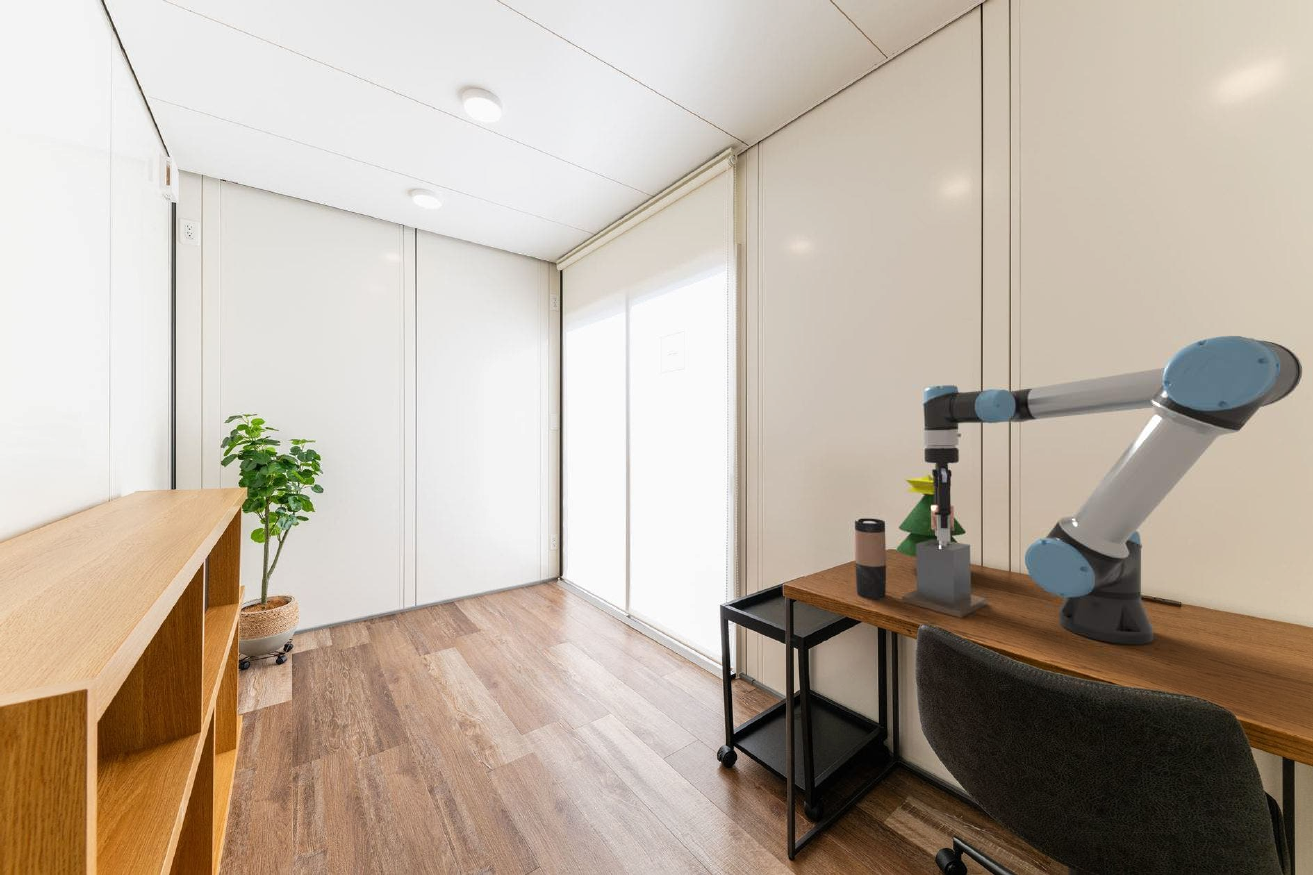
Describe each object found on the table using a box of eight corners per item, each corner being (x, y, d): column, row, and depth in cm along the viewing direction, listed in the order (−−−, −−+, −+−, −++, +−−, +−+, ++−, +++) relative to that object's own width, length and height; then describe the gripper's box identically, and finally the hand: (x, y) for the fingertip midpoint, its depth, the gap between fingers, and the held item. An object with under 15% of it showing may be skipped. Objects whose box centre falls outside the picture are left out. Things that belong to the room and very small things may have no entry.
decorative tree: (942, 585, 139) (940, 479, 139) (883, 568, 156) (881, 474, 156) (982, 574, 148) (980, 474, 147) (922, 559, 165) (921, 470, 165)
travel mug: (891, 599, 129) (890, 523, 129) (862, 599, 130) (861, 523, 129) (879, 589, 137) (877, 517, 137) (851, 590, 137) (850, 518, 137)
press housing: (986, 604, 124) (985, 544, 124) (960, 617, 116) (959, 554, 116) (929, 590, 135) (928, 535, 135) (902, 601, 127) (901, 543, 127)
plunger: (958, 588, 125) (957, 505, 125) (949, 592, 122) (947, 508, 122) (937, 583, 129) (936, 503, 129) (928, 587, 126) (927, 505, 126)
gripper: (963, 448, 115) (965, 547, 116) (953, 445, 131) (955, 532, 132) (927, 448, 118) (928, 545, 119) (921, 445, 135) (923, 530, 135)
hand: (942, 538), depth 125 cm, fingers closed on plunger, 5 cm apart
